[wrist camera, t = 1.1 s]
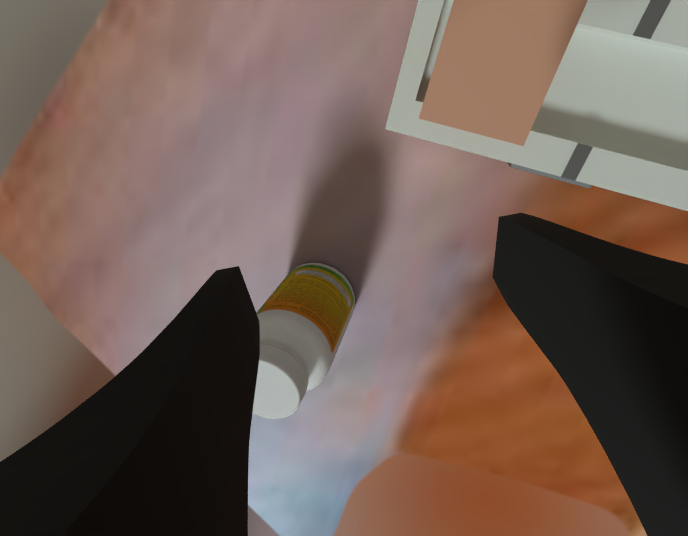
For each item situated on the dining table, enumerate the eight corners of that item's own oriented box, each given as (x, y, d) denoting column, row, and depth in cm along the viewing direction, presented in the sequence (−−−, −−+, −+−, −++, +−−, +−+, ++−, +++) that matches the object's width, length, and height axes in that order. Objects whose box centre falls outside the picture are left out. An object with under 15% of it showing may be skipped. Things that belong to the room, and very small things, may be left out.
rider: (559, 10, 15) (592, -11, 12) (508, 133, 17) (523, 146, 14) (461, -12, 15) (464, -38, 12) (424, 111, 18) (418, 118, 14)
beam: (846, 38, 15) (952, 27, 12) (711, 218, 19) (765, 245, 16) (440, -48, 17) (438, -78, 14) (392, 131, 21) (381, 139, 18)
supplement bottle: (287, 252, 26) (211, 333, 18) (362, 270, 25) (319, 364, 17) (282, 314, 29) (213, 411, 20) (350, 333, 28) (307, 442, 20)
